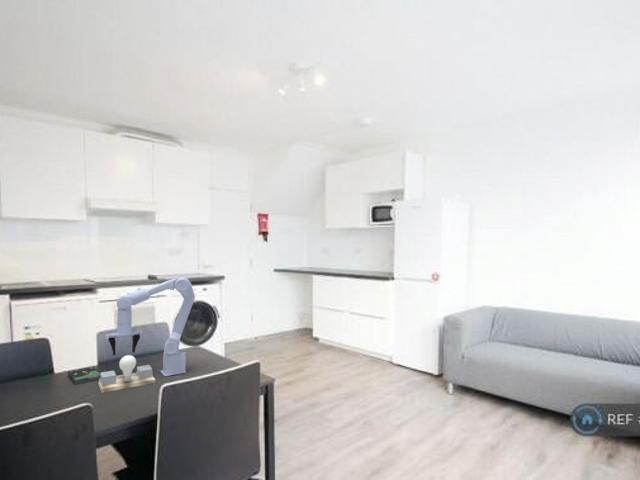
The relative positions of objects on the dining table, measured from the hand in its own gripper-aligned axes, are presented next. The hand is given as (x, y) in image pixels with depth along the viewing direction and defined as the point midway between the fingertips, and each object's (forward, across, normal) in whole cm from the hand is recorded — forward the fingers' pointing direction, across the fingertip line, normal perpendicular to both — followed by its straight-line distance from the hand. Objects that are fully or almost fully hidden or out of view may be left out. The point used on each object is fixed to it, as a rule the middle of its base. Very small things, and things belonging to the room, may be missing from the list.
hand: (123, 353), depth 170 cm
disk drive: (+11, +14, -8) cm, 20 cm away
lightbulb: (+9, 0, +12) cm, 15 cm away
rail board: (+10, 0, +10) cm, 14 cm away
